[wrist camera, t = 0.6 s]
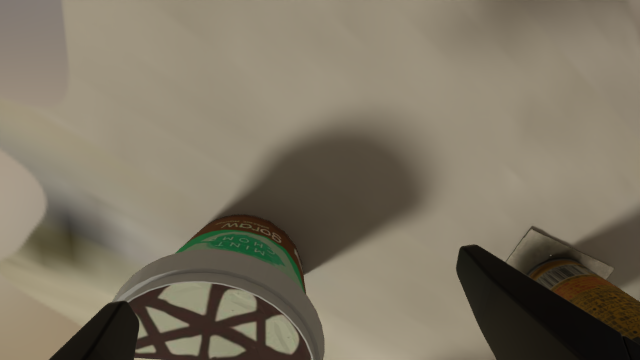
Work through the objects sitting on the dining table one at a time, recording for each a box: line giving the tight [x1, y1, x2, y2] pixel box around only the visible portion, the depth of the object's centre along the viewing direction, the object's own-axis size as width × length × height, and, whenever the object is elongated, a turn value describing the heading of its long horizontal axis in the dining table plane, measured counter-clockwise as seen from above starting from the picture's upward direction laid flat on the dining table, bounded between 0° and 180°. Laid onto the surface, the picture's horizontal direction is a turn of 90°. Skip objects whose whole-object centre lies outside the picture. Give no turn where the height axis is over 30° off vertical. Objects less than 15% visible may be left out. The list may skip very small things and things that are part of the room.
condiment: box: [506, 229, 640, 344], centre depth 22 cm, size 7×8×12 cm
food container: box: [112, 215, 324, 360], centre depth 21 cm, size 12×6×10 cm, turn 85°
